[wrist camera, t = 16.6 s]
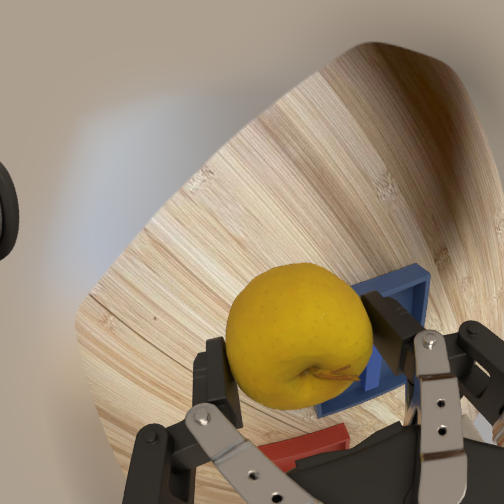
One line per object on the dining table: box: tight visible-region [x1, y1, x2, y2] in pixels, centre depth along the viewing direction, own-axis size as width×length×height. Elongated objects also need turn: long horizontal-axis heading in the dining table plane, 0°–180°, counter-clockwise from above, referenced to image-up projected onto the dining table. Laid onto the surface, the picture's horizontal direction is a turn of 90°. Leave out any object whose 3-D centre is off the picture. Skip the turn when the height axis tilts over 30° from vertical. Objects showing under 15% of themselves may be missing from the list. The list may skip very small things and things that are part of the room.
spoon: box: [359, 345, 382, 392], centre depth 26 cm, size 11×4×2 cm, turn 14°
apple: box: [226, 263, 373, 410], centre depth 12 cm, size 6×6×8 cm
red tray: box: [257, 423, 350, 473], centre depth 35 cm, size 15×13×3 cm
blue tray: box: [314, 263, 431, 418], centre depth 26 cm, size 13×16×3 cm
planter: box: [462, 414, 485, 443], centre depth 41 cm, size 16×8×19 cm, turn 16°
